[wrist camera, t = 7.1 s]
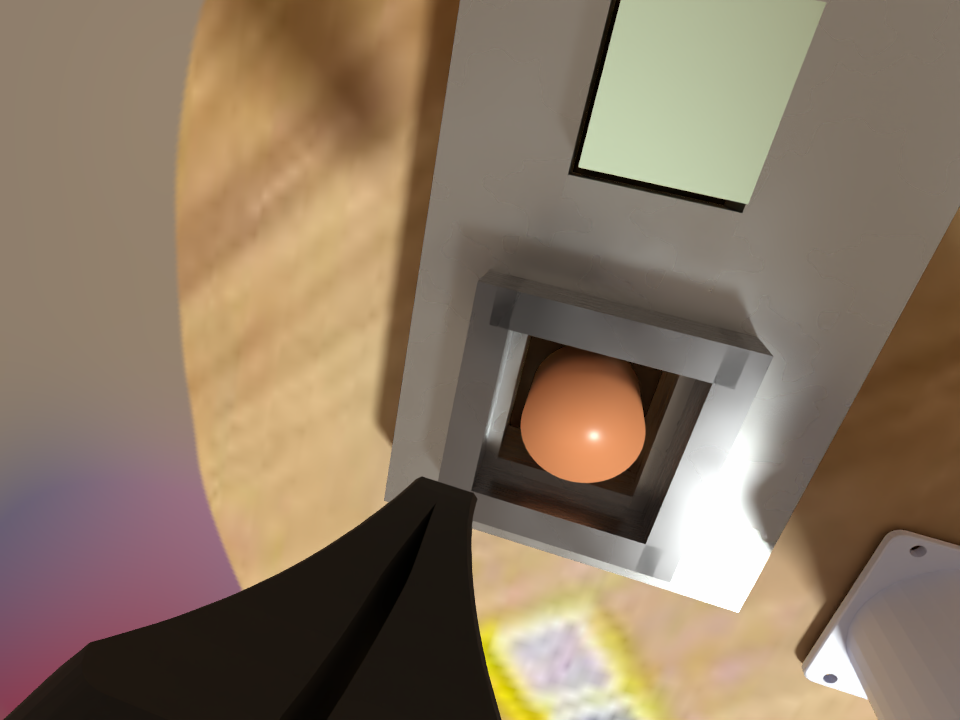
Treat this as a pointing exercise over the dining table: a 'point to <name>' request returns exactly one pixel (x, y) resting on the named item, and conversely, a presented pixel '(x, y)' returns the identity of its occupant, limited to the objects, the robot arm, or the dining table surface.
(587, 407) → the button
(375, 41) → the dining table surface
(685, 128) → the pale green block
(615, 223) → the control box
